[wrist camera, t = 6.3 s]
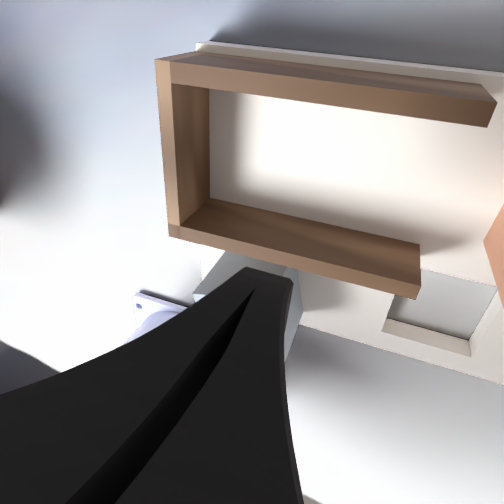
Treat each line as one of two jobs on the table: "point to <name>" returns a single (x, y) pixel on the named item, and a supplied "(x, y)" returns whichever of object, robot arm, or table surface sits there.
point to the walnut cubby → (276, 224)
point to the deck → (370, 195)
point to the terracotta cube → (496, 251)
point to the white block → (236, 262)
